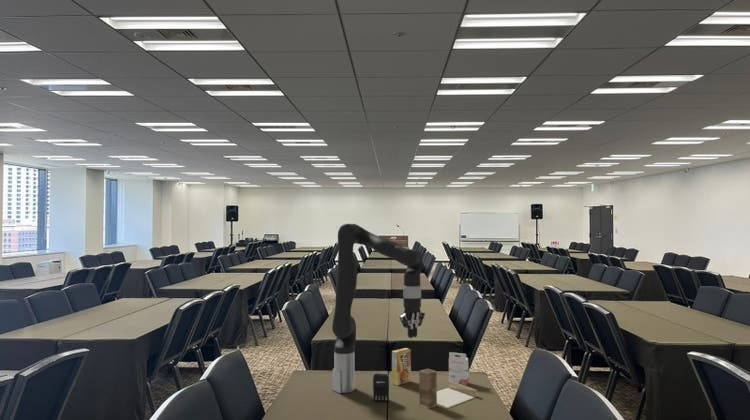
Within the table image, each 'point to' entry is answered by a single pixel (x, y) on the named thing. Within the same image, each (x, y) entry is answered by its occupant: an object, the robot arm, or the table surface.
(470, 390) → the birch lip
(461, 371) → the ink cartridge box
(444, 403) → the felt mat
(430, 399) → the brown block
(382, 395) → the battery charger
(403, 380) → the candy box
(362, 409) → the table surface
